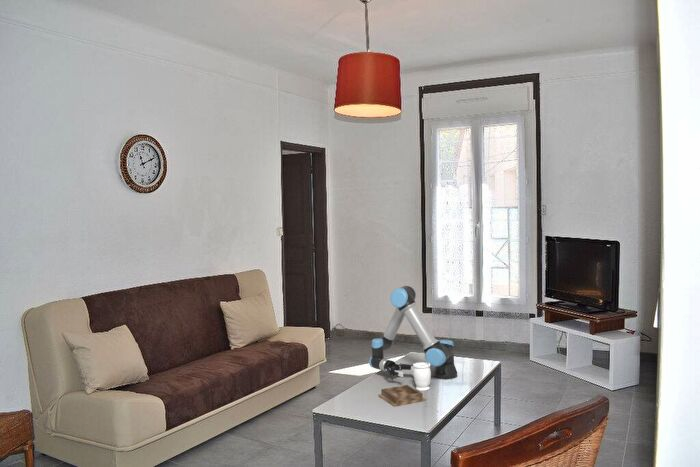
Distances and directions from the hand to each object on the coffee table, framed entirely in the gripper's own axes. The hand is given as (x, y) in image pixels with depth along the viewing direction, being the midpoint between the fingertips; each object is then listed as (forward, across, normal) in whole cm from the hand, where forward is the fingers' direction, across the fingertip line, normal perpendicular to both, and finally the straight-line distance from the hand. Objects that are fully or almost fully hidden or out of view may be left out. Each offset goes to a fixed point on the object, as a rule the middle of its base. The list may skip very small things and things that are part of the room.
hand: (410, 372), depth 335 cm
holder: (+14, +21, -8) cm, 26 cm away
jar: (+10, 0, -8) cm, 13 cm away
